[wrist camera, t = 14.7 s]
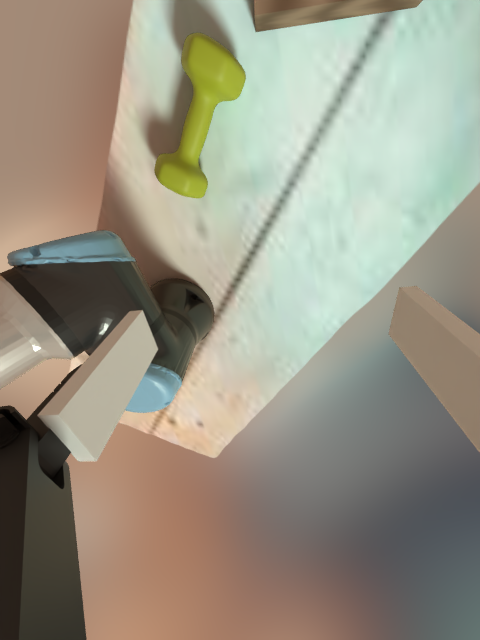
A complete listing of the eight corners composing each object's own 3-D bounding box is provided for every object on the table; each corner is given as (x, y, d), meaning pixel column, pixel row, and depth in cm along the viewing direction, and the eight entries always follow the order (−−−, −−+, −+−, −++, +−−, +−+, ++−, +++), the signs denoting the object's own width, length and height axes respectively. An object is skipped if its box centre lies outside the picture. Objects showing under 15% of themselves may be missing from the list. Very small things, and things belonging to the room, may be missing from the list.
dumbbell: (196, 39, 30) (179, 9, 24) (252, 77, 32) (249, 57, 26) (160, 175, 39) (141, 177, 33) (206, 200, 40) (195, 207, 34)
